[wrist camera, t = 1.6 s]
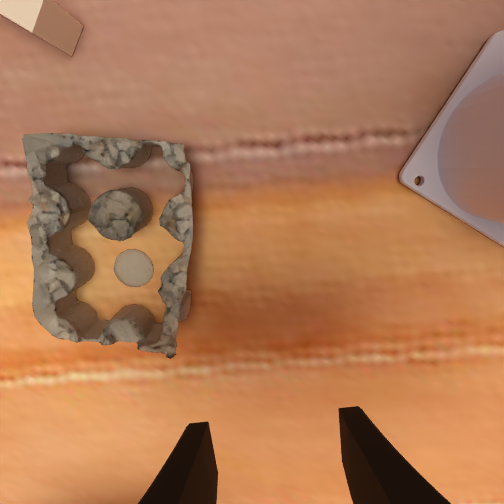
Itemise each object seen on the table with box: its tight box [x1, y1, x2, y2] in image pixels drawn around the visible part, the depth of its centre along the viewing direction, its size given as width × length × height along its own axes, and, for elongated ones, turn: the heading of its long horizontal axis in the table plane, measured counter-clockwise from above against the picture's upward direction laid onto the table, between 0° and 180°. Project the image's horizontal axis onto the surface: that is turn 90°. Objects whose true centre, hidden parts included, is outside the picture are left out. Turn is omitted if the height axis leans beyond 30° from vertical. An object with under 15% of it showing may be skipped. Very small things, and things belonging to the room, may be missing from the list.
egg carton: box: [22, 133, 194, 359], centre depth 17 cm, size 11×8×4 cm
